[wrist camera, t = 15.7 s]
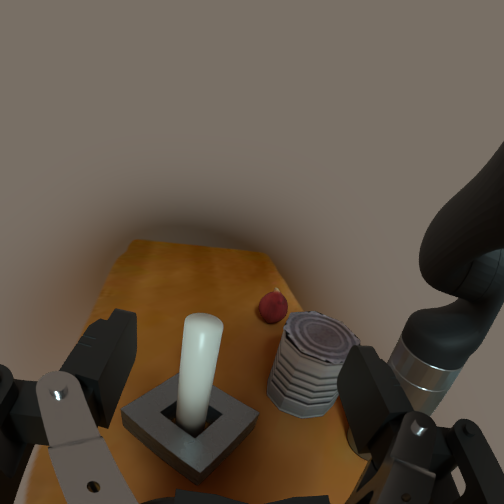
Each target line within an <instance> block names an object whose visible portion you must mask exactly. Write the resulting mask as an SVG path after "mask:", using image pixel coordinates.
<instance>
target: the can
mask: <svg viewBox="0 0 504 504" xmlns="http://www.w3.org/2000/svg"><path fill="white" fill-rule="evenodd" d="M283 329H284V331H283V335H282V338H281V341H280V344H279V347H278V350H277V354H276V357H275V360H274V363H273V366H272V369H271V372H270V375H269V378H268V384H267V396H268V397H269V398H270V399H271V401H272V402H273V403H274V404H275V406H276V407H277V408H278V409H279V410H280V411H283V412H285V413H288V414H291V415H293V416H296V417H298V418H301V419H302V418H311V417H319V416H323V415H324V414H325V413H326V412H327V411H328V410H329V409H330V408H331V407H332V406H333V404H334V402H335V401H336V399H337V397H338V395H339V393H338V390H337V377H338V374H339V372H340V370H341V368H342V366H343V364H344V362H345V359H346V357H347V355H348V353H349V351H350V349H351V347H352V346H353V345H360V339H358V337H356V335H355V334H354V333H353V332H352V331H350V329H349V328H348V327H347V326H346V325H345V324H344V323H343V322H341V321H339V320H336V319H333V318H331V317H328V316H326V315H323V314H321V313H318V312H316V311H309V312H295V313H290V315H289V318H288V320H287V322H286V324H285V326H284V328H283Z"/></svg>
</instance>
